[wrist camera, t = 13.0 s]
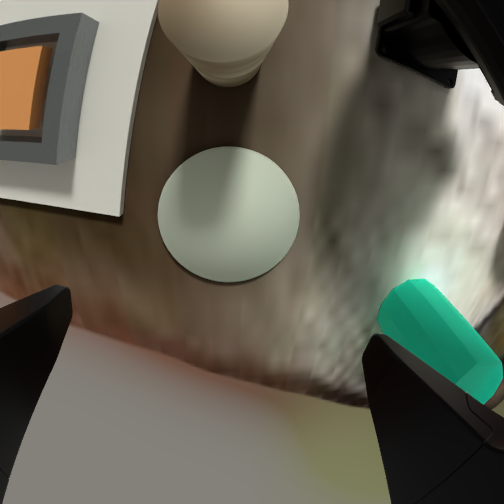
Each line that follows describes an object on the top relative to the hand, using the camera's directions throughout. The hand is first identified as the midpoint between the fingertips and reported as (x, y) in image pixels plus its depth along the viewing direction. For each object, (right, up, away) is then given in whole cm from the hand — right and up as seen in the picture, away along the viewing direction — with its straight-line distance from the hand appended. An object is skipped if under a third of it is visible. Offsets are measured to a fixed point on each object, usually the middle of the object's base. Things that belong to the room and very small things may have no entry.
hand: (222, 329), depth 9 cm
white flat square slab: (-14, +13, +7) cm, 21 cm away
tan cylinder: (-1, +14, +8) cm, 16 cm away
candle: (+14, -3, +16) cm, 22 cm away
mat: (-1, +4, +12) cm, 13 cm away
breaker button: (-14, +12, +5) cm, 19 cm away
